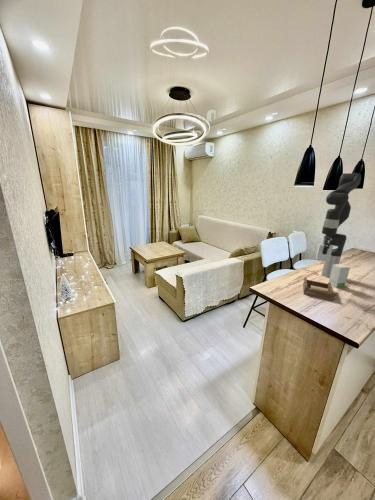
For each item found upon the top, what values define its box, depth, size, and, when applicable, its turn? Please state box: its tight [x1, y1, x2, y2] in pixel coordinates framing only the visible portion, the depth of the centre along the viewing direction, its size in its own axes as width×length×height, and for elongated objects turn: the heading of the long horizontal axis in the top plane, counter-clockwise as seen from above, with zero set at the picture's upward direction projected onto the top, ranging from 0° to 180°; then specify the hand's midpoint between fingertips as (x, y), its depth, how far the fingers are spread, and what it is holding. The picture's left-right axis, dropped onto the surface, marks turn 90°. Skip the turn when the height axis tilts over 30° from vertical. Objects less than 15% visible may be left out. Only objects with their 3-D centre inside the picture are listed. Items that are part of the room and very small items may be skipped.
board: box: [315, 243, 334, 262], centre depth 132 cm, size 3×7×10 cm, turn 63°
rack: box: [302, 277, 335, 301], centre depth 132 cm, size 16×15×6 cm
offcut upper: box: [310, 285, 328, 292], centre depth 129 cm, size 4×9×2 cm, turn 63°
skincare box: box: [328, 263, 351, 289], centre depth 142 cm, size 8×7×16 cm
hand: (324, 253), depth 132 cm, fingers closed on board, 3 cm apart
